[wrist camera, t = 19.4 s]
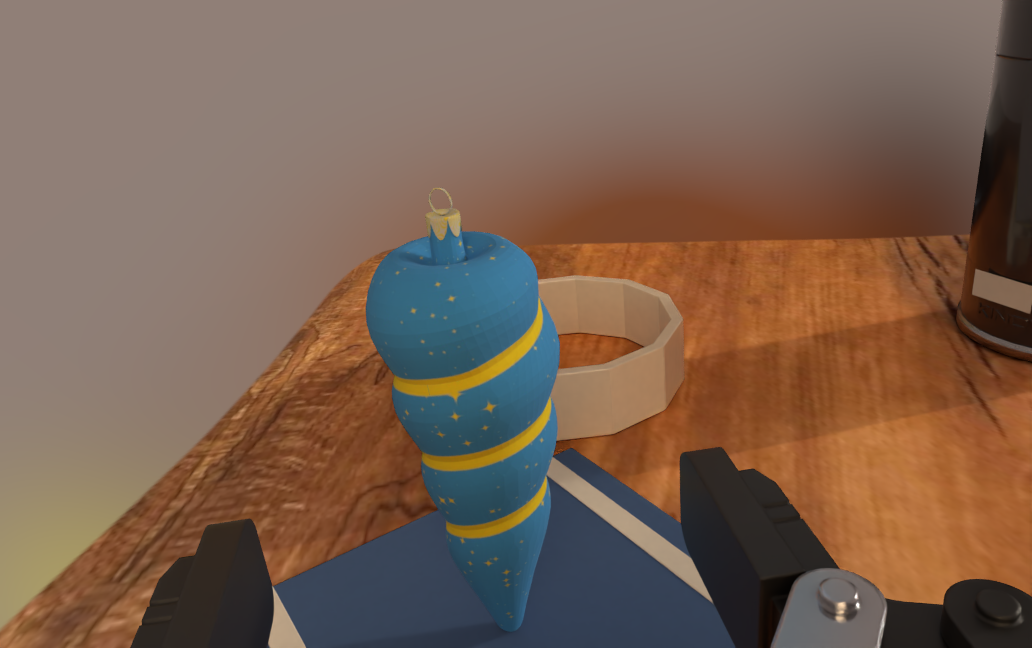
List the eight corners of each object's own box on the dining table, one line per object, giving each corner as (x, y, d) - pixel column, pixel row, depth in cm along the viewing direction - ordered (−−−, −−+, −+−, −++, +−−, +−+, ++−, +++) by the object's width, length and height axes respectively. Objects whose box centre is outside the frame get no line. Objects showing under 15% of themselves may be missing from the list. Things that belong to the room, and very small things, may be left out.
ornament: (536, 713, 23) (472, 225, 17) (398, 656, 26) (300, 212, 20) (607, 596, 27) (576, 166, 21) (482, 556, 30) (421, 161, 24)
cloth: (571, 452, 36) (571, 446, 36) (836, 638, 25) (837, 630, 25) (218, 618, 29) (215, 612, 28) (372, 987, 18) (369, 978, 17)
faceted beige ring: (585, 313, 50) (581, 261, 49) (730, 379, 41) (731, 317, 39) (413, 376, 45) (404, 320, 43) (535, 471, 35) (528, 403, 34)
